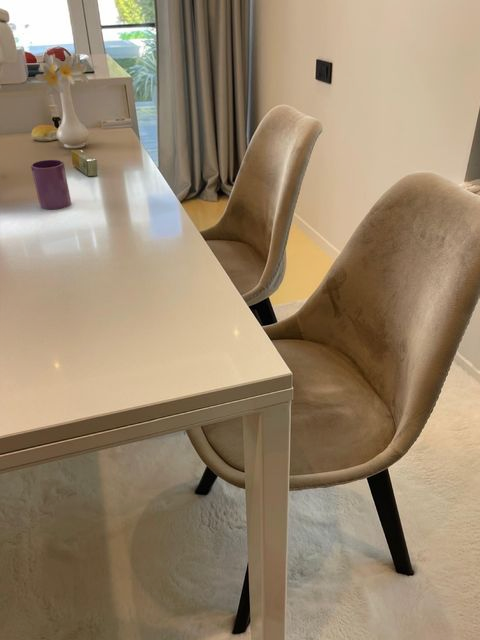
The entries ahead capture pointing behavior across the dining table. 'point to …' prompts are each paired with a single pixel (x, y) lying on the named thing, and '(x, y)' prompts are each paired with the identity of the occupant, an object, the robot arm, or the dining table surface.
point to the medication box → (84, 162)
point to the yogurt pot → (51, 184)
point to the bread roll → (44, 133)
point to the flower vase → (65, 95)
